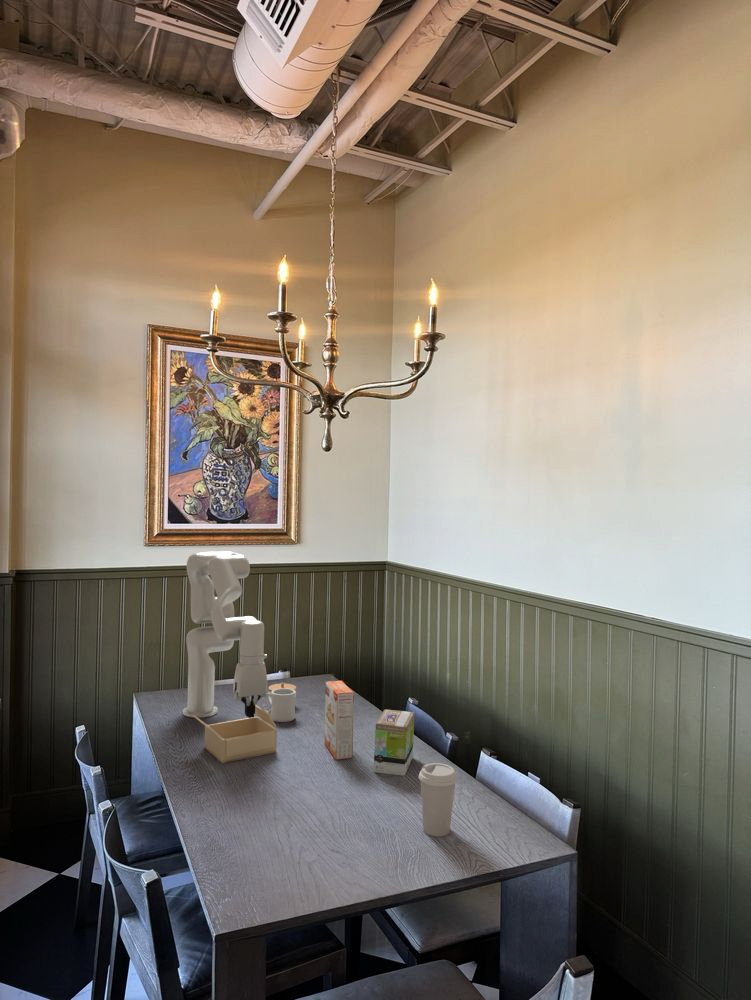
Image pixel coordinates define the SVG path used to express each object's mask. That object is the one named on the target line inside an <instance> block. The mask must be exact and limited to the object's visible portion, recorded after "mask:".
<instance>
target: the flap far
mask: <svg viewBox="0 0 751 1000" xmlns="http://www.w3.org/2000/svg"><path fill="white" fill-rule="evenodd" d="M270 714H271V713H268V712H266V711H265V710H263V709H262V708H261V707H260V706H258V705H257V704H256V705H255V715H256V717H258V718H260V719H261V720H263V721H264V722H266V723H267V724H269V725H270V726H272V727H273V728H275V729H277V725H276V723H275V721H273V720H272V718H271V716H270Z"/></svg>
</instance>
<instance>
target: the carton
mask: <svg viewBox="0 0 751 1000" xmlns="http://www.w3.org/2000/svg"><path fill="white" fill-rule="evenodd" d="M207 725H208V726H209V727H210V728H212V729H213V730H214V731H215V732H217V733H218V734H219V735H220V736H222V738H221V737H219V736H218V735H216V734H215V733H214V732H212V731H211V730H210V729H208V728H207V727H206V726H205V725H204V749H206V750H207V751H208V752H209V753H210V754H211V755H212V756H214V758H216V759H217V760H218V761H219V762H220V763H221V764H227V763H230V762H234V761H235V762H237V761H239V760H245V759H249V758H254V757H258V756H259V757H260V756H263V755H269V754H273V753H277V747H278V745H277V743H278V742H277V741H278V730H277V728H275V727H274V726H272V725H271V724H269V723H268V722H266V721H265V720H263V719H262V718H260V717H259V716H254V717H253V718H252V717H251V718H248V717H246V718H240V719H234V720H227V721H222V722H216V723H211V724H207Z"/></svg>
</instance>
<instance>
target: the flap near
mask: <svg viewBox="0 0 751 1000" xmlns="http://www.w3.org/2000/svg"><path fill="white" fill-rule="evenodd" d="M193 716H194V717H195V718H194V719H196V720H197V721H199V723H201V724H202V725H203V726H204V727H205V726H206V727H207V728H208V729H210V730H211V731H212V732H214V733H215V734H216V735H218V736H219V737H221V738H222V736H220V735H219V734H218V733H217V732H215V731H214V730H213V729H212V728H210V727H209V726H208V725H209V724H207V723H205V722H204V721H203V720H202V719H200V718H197V717H196V716H195V715H193Z"/></svg>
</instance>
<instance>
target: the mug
mask: <svg viewBox="0 0 751 1000" xmlns="http://www.w3.org/2000/svg"><path fill="white" fill-rule="evenodd" d="M295 694H296V695H297V690H296V691H295V690H293V689H288V688H279V689H275V690H272V692H271V694H270V693H268V692H266V696H264V697H262V701H264V704H263V705H262V708H261V709H263V710H265V711H266V712H268V713H269V714H270V716H271V718H272V720H273V721H274V722H277V723H278V722H279V723H288V722H292V721H294V719H295V718H296V703H295V701H296V697H295ZM267 696H268V698H269V697H271V698H272V705H271V707H269V709H268V710H267V709H266V707H267V706H268V704H269V701H268V700H267V698H266V697H267Z"/></svg>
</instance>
